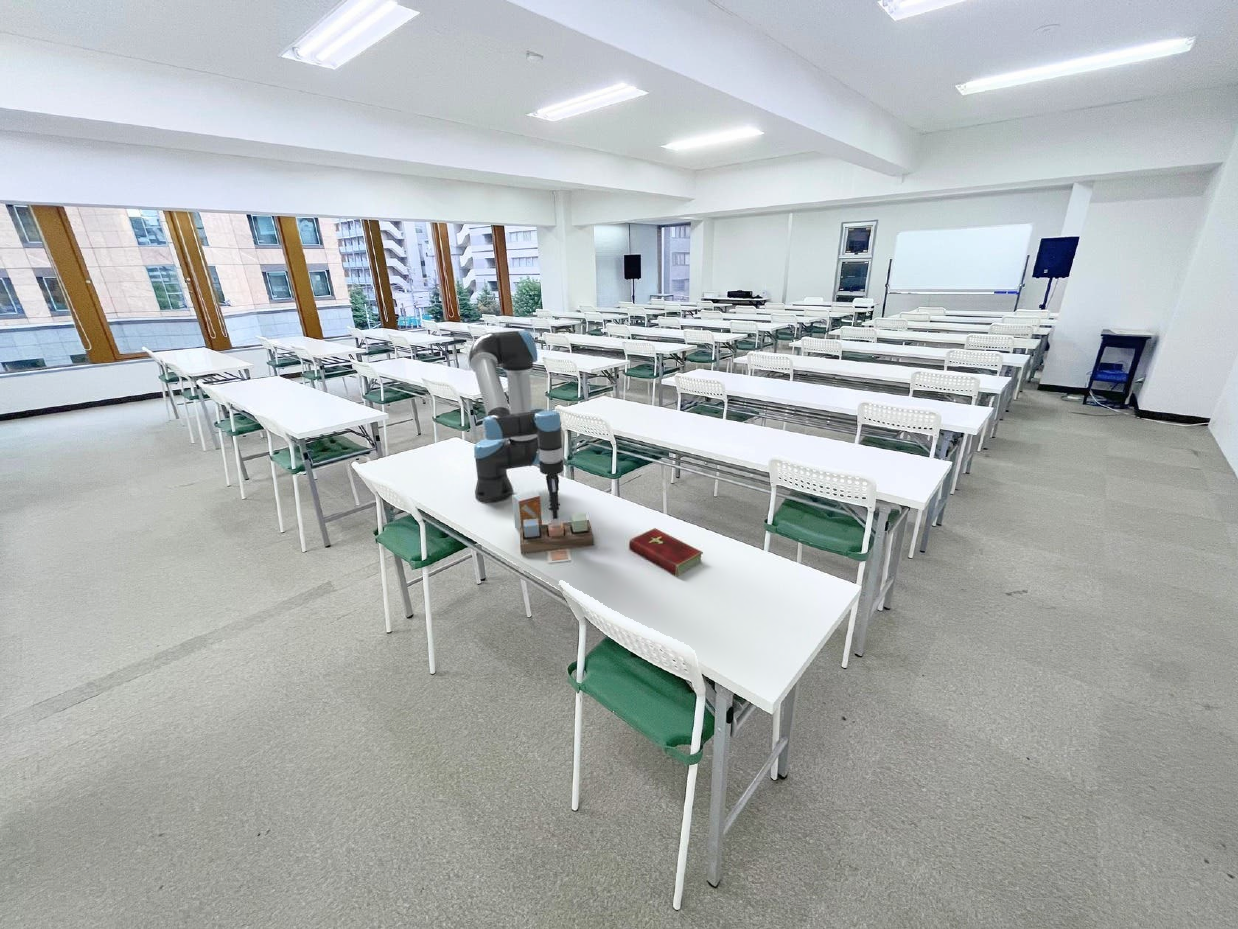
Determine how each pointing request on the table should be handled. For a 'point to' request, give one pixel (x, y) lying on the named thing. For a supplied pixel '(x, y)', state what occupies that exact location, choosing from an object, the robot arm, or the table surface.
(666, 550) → the hardcover book
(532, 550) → the wooden tray
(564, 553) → the tile
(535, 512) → the small box
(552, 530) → the cap terracotta
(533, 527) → the light blue cube
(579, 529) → the cap sage
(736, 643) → the table surface
